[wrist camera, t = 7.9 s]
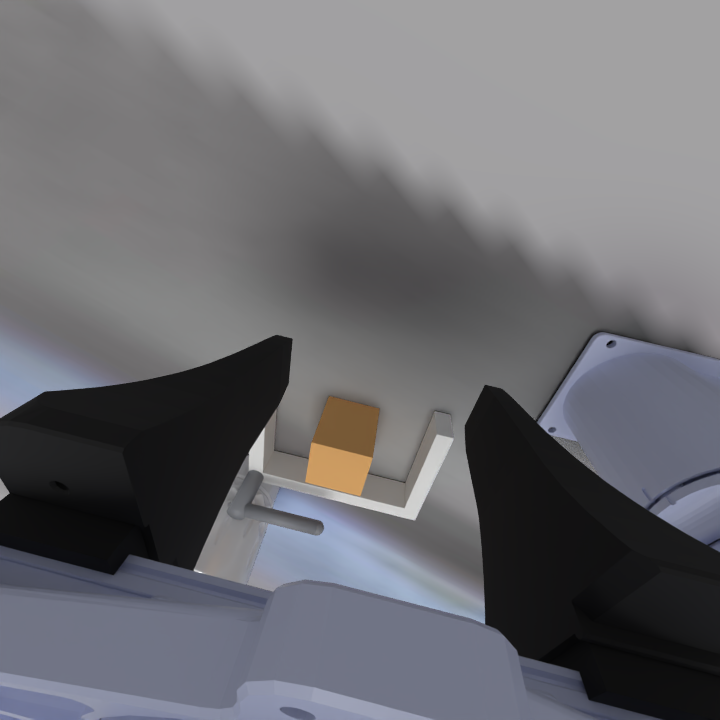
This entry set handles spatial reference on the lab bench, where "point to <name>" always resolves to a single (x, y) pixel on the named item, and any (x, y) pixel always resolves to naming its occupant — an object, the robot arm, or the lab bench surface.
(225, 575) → the white cup
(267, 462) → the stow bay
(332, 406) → the tan wooden cube
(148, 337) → the lab bench surface
